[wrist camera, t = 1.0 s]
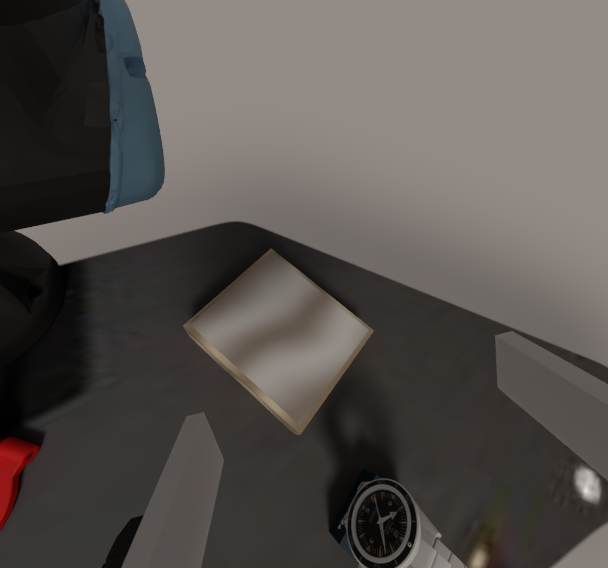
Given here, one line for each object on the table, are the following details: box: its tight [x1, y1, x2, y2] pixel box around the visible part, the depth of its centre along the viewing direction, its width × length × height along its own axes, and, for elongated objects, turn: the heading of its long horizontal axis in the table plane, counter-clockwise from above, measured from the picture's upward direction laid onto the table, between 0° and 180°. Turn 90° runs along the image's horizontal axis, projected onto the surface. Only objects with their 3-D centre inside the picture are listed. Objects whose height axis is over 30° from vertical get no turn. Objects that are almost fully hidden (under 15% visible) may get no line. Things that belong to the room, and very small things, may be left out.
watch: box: [329, 470, 467, 568], centre depth 20 cm, size 6×8×11 cm
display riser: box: [183, 249, 374, 435], centre depth 29 cm, size 14×12×4 cm
